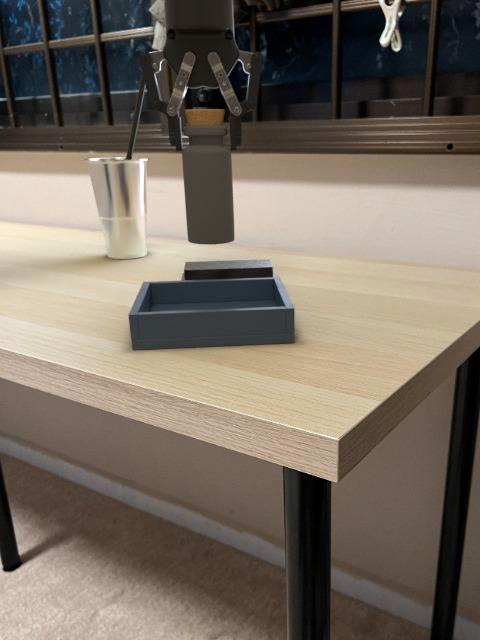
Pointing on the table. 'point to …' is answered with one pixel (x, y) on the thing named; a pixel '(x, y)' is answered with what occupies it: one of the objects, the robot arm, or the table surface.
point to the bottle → (207, 178)
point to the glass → (122, 196)
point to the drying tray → (211, 313)
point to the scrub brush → (228, 269)
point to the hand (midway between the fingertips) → (206, 150)
